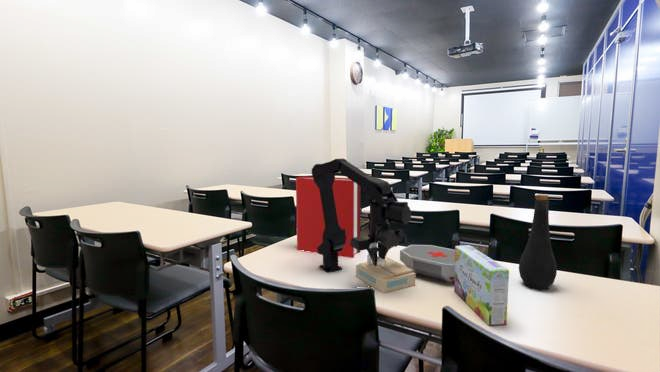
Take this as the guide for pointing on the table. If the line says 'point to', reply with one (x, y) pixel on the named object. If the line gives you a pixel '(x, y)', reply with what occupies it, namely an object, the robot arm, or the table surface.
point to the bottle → (539, 250)
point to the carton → (383, 278)
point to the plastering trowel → (390, 265)
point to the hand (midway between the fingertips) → (378, 265)
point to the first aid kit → (430, 261)
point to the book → (312, 213)
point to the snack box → (482, 284)
